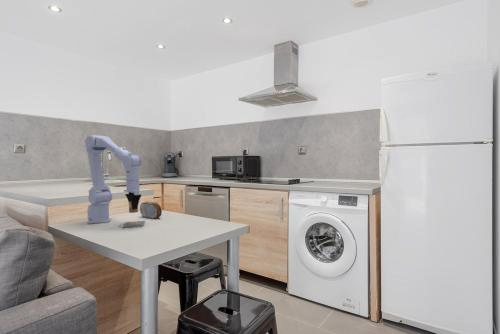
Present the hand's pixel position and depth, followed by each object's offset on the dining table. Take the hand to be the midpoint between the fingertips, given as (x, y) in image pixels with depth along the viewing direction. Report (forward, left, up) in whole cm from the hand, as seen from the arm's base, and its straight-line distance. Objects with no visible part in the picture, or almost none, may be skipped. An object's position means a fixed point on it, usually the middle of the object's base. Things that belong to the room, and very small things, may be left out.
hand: (133, 208), depth 134 cm
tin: (+7, +15, -8) cm, 18 cm away
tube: (0, 0, -2) cm, 2 cm away
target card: (0, 0, -8) cm, 8 cm away
